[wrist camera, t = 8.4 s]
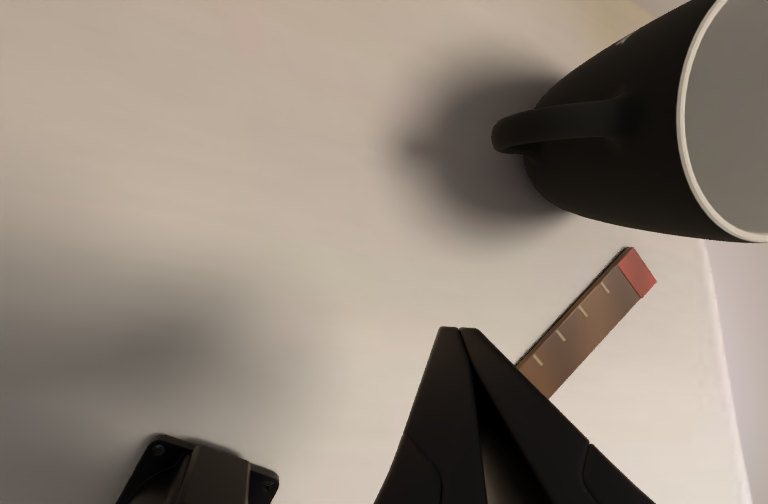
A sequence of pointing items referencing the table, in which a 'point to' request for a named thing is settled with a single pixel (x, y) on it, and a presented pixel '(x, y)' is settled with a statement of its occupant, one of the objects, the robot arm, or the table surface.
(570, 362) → the ruler
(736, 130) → the mug
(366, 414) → the table surface
